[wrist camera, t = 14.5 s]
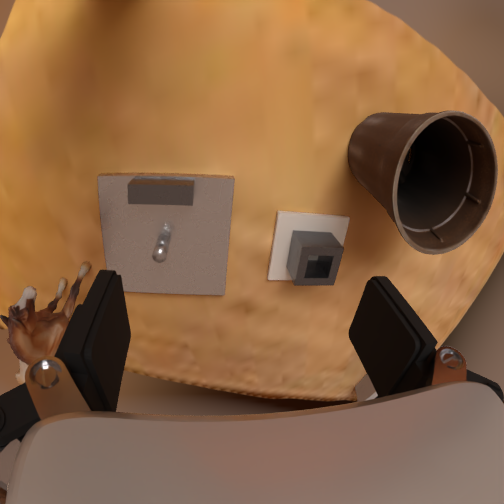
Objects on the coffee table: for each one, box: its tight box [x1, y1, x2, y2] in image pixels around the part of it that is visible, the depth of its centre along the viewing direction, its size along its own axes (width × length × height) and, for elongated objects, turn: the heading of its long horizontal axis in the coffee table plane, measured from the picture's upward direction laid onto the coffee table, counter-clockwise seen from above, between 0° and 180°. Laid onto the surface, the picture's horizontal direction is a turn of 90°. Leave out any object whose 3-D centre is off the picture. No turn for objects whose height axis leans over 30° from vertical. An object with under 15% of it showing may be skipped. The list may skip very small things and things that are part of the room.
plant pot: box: [348, 111, 498, 255], centre depth 33 cm, size 16×16×16 cm
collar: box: [286, 230, 344, 285], centre depth 43 cm, size 6×6×5 cm
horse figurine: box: [0, 261, 91, 385], centre depth 36 cm, size 31×8×21 cm, turn 144°
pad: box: [267, 211, 350, 280], centre depth 45 cm, size 11×11×1 cm
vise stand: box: [98, 173, 235, 295], centre depth 39 cm, size 18×18×6 cm
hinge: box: [355, 374, 379, 402], centre depth 61 cm, size 17×5×10 cm, turn 158°
